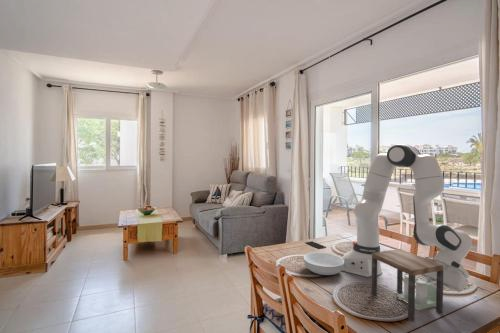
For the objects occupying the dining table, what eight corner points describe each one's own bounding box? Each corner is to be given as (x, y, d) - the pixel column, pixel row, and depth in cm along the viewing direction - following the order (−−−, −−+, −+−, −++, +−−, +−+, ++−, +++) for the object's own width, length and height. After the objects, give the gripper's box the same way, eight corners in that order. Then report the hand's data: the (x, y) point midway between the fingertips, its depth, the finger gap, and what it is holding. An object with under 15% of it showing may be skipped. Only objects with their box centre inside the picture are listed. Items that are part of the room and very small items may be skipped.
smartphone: (319, 248, 181) (304, 242, 194) (319, 249, 181) (304, 243, 194) (326, 247, 184) (312, 241, 198) (326, 248, 184) (312, 242, 198)
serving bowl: (346, 282, 133) (347, 268, 133) (303, 278, 137) (303, 264, 137) (341, 265, 154) (341, 253, 153) (303, 262, 158) (303, 251, 158)
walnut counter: (411, 321, 101) (412, 270, 100) (371, 295, 120) (371, 252, 119) (442, 313, 106) (443, 265, 105) (399, 289, 125) (400, 248, 124)
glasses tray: (417, 293, 121) (418, 272, 121) (439, 305, 112) (440, 282, 112) (396, 298, 118) (397, 276, 117) (417, 310, 108) (418, 286, 108)
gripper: (420, 251, 129) (404, 274, 126) (466, 267, 110) (449, 295, 107) (427, 259, 131) (411, 282, 128) (474, 277, 111) (456, 304, 108)
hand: (429, 288), depth 117 cm, fingers closed
